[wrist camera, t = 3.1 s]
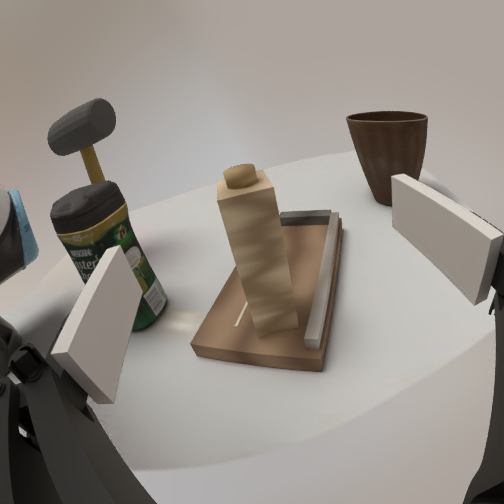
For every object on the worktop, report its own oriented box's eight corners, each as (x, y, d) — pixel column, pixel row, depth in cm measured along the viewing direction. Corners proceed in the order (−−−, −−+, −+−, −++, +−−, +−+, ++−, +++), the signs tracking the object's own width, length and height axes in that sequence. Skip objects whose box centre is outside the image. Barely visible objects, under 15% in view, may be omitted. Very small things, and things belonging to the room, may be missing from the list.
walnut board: (196, 355, 29) (184, 333, 27) (264, 231, 49) (260, 213, 47) (321, 371, 24) (319, 348, 22) (342, 229, 44) (340, 209, 43)
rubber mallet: (165, 245, 53) (113, 91, 38) (146, 269, 47) (82, 98, 32) (118, 250, 57) (68, 116, 42) (98, 271, 51) (39, 127, 36)
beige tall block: (258, 337, 27) (212, 184, 19) (252, 304, 31) (213, 167, 24) (299, 327, 27) (270, 170, 19) (288, 295, 31) (259, 156, 24)
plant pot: (350, 214, 48) (340, 122, 40) (358, 184, 59) (350, 111, 51) (433, 217, 41) (434, 122, 33) (424, 185, 52) (421, 111, 44)
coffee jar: (100, 326, 36) (35, 210, 27) (128, 292, 42) (78, 182, 33) (148, 338, 33) (76, 198, 23) (177, 296, 39) (125, 168, 30)
